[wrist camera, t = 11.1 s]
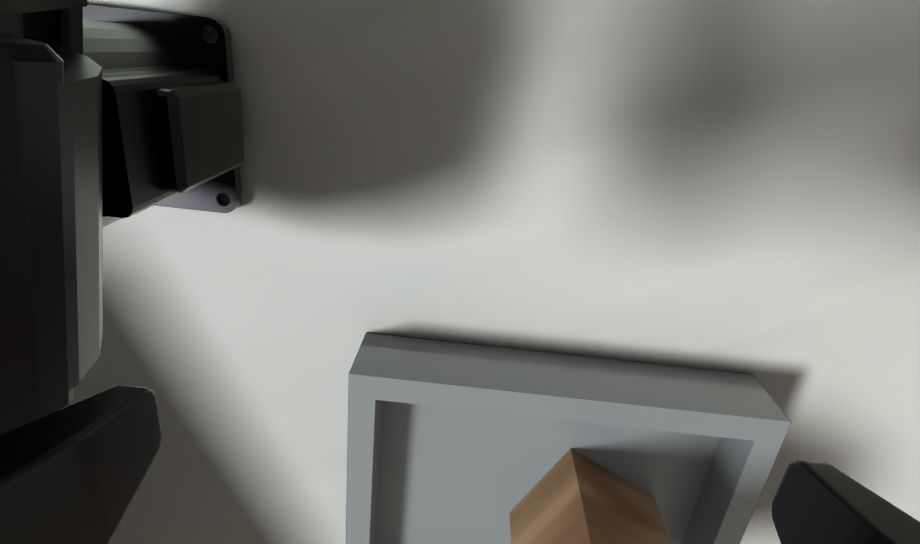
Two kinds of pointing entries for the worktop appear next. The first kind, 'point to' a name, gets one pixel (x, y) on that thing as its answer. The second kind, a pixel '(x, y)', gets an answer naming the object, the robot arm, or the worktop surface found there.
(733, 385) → the tray
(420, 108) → the worktop surface
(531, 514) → the walnut block
